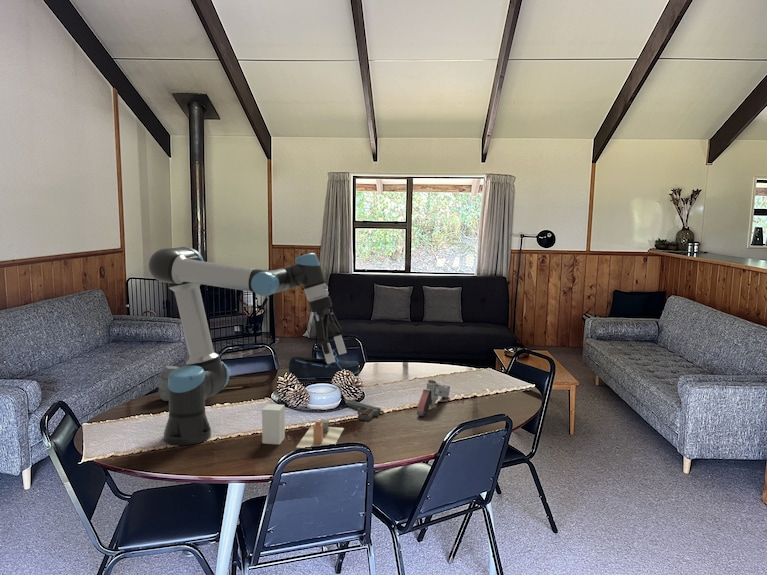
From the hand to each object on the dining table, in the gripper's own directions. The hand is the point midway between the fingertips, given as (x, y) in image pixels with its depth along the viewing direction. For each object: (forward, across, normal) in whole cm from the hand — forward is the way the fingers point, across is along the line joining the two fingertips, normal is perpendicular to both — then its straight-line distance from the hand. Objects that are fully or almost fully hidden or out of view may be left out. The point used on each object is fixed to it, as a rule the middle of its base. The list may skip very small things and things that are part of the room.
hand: (337, 358), depth 195 cm
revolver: (+36, +42, -18) cm, 58 cm away
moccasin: (+18, +75, +36) cm, 85 cm away
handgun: (+27, +27, +8) cm, 39 cm away
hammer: (+6, +35, +73) cm, 81 cm away
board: (+25, -5, +12) cm, 28 cm away
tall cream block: (+20, -12, +26) cm, 35 cm away
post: (+24, -9, +12) cm, 28 cm away
